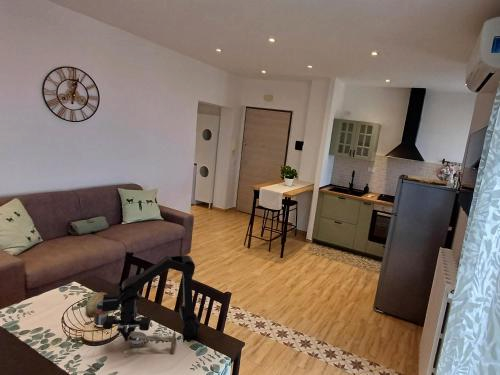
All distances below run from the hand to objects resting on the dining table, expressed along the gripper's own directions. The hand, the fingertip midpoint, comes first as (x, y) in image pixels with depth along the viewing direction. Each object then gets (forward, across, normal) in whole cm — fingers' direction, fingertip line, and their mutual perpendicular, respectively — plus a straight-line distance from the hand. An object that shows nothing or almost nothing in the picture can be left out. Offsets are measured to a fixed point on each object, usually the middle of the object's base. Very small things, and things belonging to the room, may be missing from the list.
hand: (126, 340), depth 141 cm
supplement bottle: (+2, +15, -13) cm, 20 cm away
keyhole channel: (+2, -11, 0) cm, 12 cm away
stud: (+2, -5, 0) cm, 5 cm away
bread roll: (+3, +20, -26) cm, 32 cm away
